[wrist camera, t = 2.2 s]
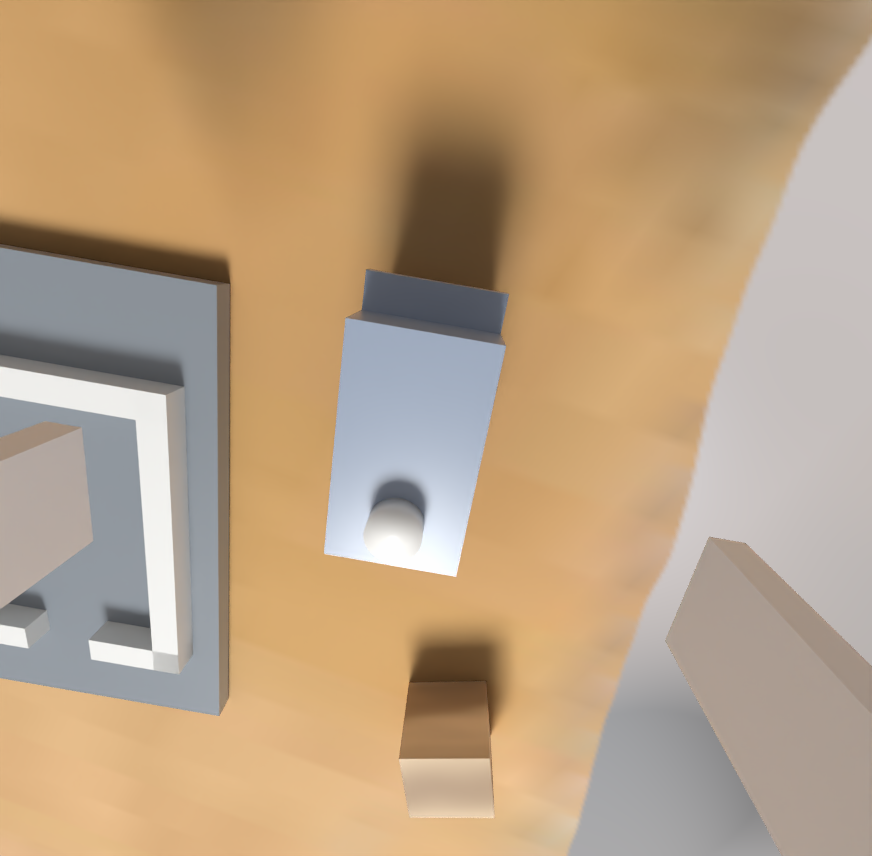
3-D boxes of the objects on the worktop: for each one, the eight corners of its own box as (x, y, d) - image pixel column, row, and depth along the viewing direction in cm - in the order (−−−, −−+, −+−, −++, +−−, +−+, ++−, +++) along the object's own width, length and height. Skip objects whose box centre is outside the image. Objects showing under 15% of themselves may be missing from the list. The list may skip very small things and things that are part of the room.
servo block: (391, 266, 17) (341, 271, 10) (497, 285, 17) (519, 303, 10) (364, 485, 20) (313, 601, 13) (454, 501, 20) (448, 624, 13)
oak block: (409, 681, 24) (398, 758, 20) (485, 679, 24) (489, 758, 20) (417, 734, 25) (409, 817, 22) (490, 734, 25) (494, 817, 21)
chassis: (-134, 220, 17) (-214, 215, 15) (229, 284, 17) (198, 287, 15) (-24, 655, 25) (-68, 690, 23) (228, 698, 25) (207, 738, 23)
